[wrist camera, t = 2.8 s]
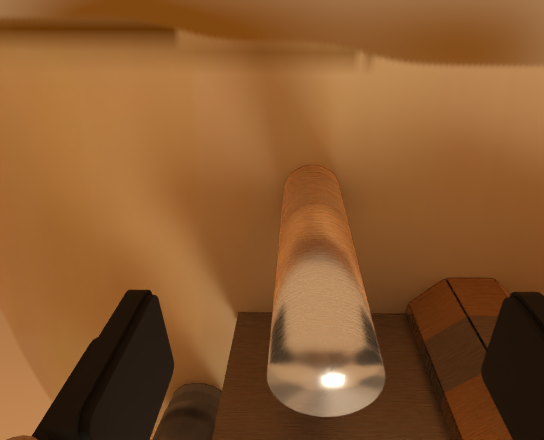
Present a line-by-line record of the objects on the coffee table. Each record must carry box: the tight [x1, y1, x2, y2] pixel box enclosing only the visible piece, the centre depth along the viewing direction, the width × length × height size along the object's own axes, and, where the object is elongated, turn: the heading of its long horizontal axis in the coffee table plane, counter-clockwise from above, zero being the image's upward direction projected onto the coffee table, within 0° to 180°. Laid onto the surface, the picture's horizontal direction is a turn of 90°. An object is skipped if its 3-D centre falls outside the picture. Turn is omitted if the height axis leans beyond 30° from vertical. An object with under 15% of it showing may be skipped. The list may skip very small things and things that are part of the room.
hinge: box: [212, 278, 513, 440], centre depth 19 cm, size 28×7×10 cm, turn 93°
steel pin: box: [267, 165, 385, 417], centre depth 15 cm, size 3×3×12 cm
